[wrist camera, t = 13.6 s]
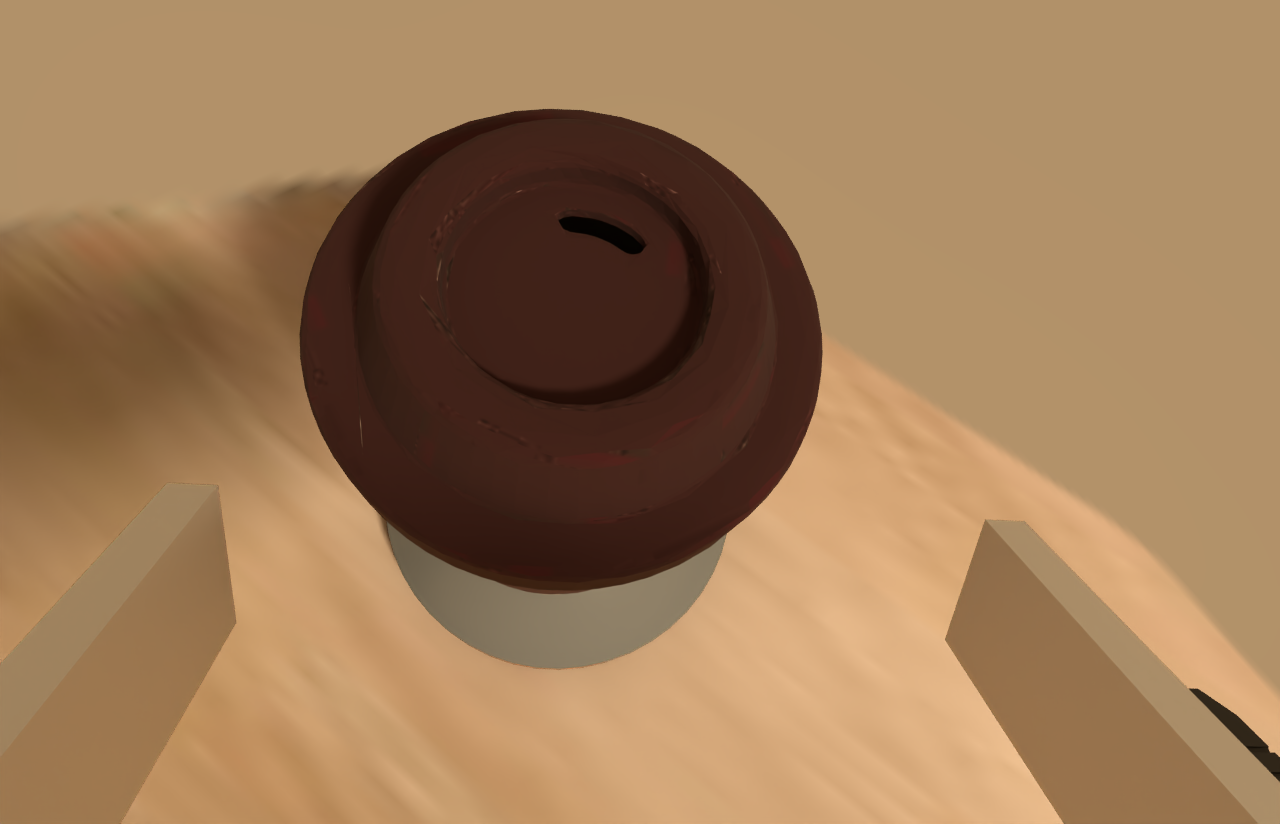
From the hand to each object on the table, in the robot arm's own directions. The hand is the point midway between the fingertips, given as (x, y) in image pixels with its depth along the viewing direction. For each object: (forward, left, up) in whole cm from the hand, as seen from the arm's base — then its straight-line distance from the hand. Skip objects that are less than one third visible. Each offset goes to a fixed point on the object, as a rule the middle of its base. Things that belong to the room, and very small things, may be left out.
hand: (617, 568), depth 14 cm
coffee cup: (-3, +4, -13) cm, 14 cm away
